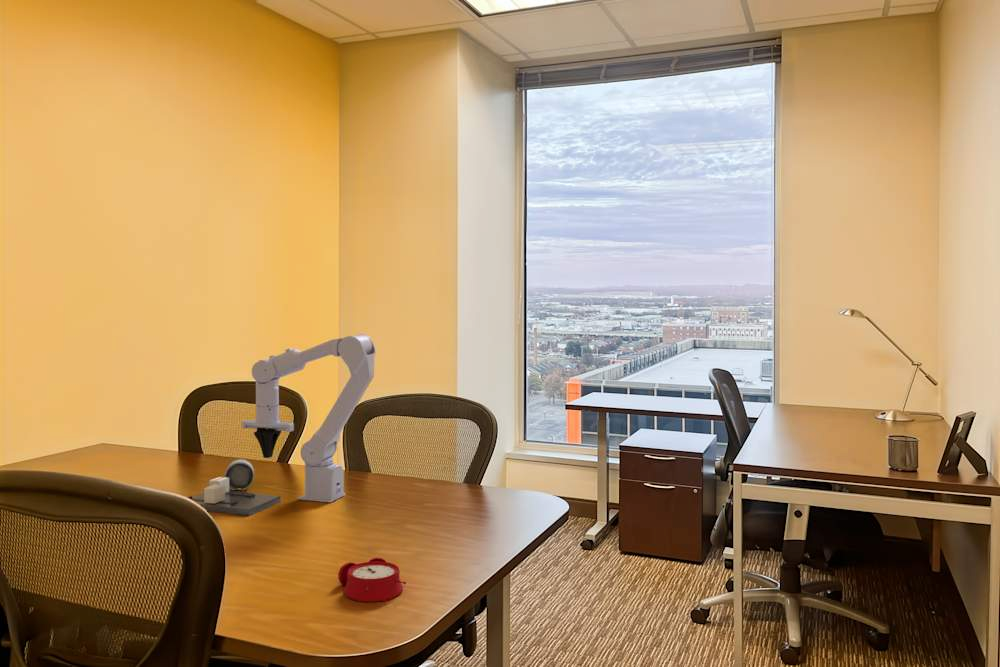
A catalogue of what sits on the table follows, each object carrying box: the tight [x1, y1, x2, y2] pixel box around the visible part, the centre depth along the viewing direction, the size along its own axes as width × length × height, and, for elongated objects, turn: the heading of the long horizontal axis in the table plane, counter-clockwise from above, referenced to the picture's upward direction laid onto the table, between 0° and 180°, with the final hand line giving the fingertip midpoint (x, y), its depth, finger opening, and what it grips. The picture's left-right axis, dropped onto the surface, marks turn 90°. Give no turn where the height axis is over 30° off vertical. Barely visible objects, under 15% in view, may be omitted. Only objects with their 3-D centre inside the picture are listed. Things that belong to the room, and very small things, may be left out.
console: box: [187, 490, 281, 516], centre depth 196 cm, size 20×13×2 cm, turn 72°
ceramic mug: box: [223, 459, 255, 491], centre depth 213 cm, size 11×8×8 cm
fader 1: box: [208, 476, 230, 493], centre depth 201 cm, size 3×4×4 cm
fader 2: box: [203, 485, 225, 504], centre depth 193 cm, size 3×4×4 cm
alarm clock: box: [337, 557, 407, 603], centre depth 142 cm, size 10×6×15 cm
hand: (267, 457), depth 205 cm, fingers closed
